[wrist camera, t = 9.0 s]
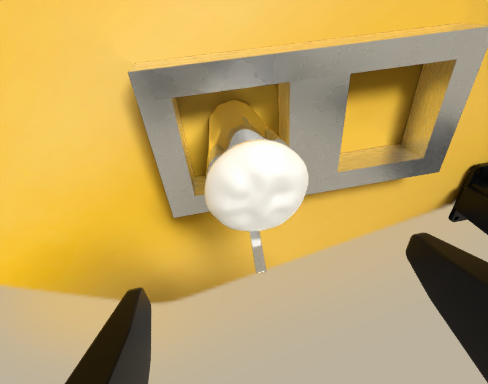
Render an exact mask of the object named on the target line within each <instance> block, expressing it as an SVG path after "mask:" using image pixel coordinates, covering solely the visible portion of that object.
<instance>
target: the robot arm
mask: <svg viewBox="0 0 488 384" xmlns="http://www.w3.org/2000/svg"><path fill="white" fill-rule="evenodd" d="M449 219H450V220H451V221H452V222H457V221H462V220H469V221H470V222H472V223H473V224H474V225H475V226H477V227H478V228H480V229H481V230H482V231H483V232H484V233H486V234H487V235H488V163H483V164H478V165H475V166H474V167H473V168H472V169H471V170H470V173H469V175H468V177H467V179H466V181H465V183H464V185H463V187H462V190H461V192H460V194H459V196H458V198H457V200H456V202H455V205H454V207H453V209H452V211H451V213H450V215H449ZM406 256H407V259H408V260H409V262H410V264H411V266H412V268H413V269H414V271H415V273H416V275H417V277H418V278H419V280H420V282H421V283H422V286H423V287H424V289H425V291H426V292H427V294H428V296H429V298H430V299H431V301H432V302H433V304H434V305H435V307H436V308H437V310H438V311H439V313H440V314H441V316H442V317H443V318H444V320H445V321H446V322H447V324H448V326H449V327H450V329H451V330H452V332H453V333H454V334H455V336H456V337H457V339H458V340H459V341H460V343H461V345H462V346H463V348H464V349H465V350H466V352H467V353H468V355H469V356H470V358H471V359H472V361H473V362H474V364H475V365H476V366H477V368H478V369H479V371H480V372H481V374H482V375H483V377H484V378H485V380H486V381H487V383H488V262H486V261H484V260H482V259H480V258H478V257H475V256H473V255H471V254H469V253H467V252H465V251H463V250H461V249H459V248H457V247H455V246H452V245H450V244H449V243H446V242H444V241H442V240H440V239H438V238H436V237H434V236H432V235H430V234H427V233H419V234H414V235H412V236H411V238H410V241H409V244H408V246H407V249H406ZM150 361H151V304H150V301H149V299H148V297H147V295H146V293H145V291H144V289H143V288H135V289H130V290H128V291H127V292H126V294H125V295H124V297H123V298H122V300H121V301H120V303H119V304H118V306H117V307H116V309H115V310H114V312H113V313H112V315H111V316H110V318H109V319H108V320H107V322H106V323H105V325H104V326H103V328H102V330H101V331H100V332H99V334H98V335H97V337H96V338H95V340H94V341H93V343H92V344H91V346H90V347H89V349H88V350H87V352H86V353H85V354H84V356H83V357H82V359H81V360H80V362H79V363H78V365H77V367H76V368H75V369H74V371H73V372H72V374H71V375H70V377H69V378H68V380H67V381H66V383H65V384H148V379H149V371H150Z"/></svg>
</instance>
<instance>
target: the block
mask: <svg viewBox="0 0 488 384" xmlns="http://www.w3.org/2000/svg"><path fill="white" fill-rule="evenodd" d="M487 48H488V25H481V24H468V23H455V24H447V25H438V26H430V27H422V28H414V29H406V30H398V31H390V32H382V33H374V34H366V35H358V36H350V37H341V38H333V39H325V40H317V41H309V42H301V43H293V44H285V45H277V46H269V47H261V48H253V49H244V50H236V51H228V52H220V53H212V54H204V55H196V56H188V57H180V58H172V59H164V60H156V61H147V62H139V63H135V64H134V66H133V67H132V68H131V69H130V70H129V71H128V74H129V78H130V81H131V84H132V87H133V90H134V93H135V97H136V100H137V103H138V106H139V109H140V112H141V116H142V119H143V122H144V125H145V128H146V131H147V135H148V138H149V141H150V144H151V147H152V150H153V154H154V157H155V160H156V163H157V166H158V169H159V173H160V176H161V179H162V182H163V185H164V188H165V192H166V195H167V198H168V201H169V204H170V207H171V211H172V214H173V217H174V218H175V217H181V216H187V215H193V214H198V213H204V212H210V211H209V209H208V207H207V205H206V201H205V180H206V175H203V176H197V177H194V174H193V170H192V165H191V161H190V157H189V152H188V148H187V144H186V139H185V135H184V131H183V126H182V122H181V118H180V113H179V109H178V105H177V100H176V97H183V96H190V95H197V94H205V93H212V92H219V91H227V90H234V89H241V88H249V87H256V86H264V85H271V84H278V114H279V137H280V138H281V139H282V140H283V141H284V142H285V143H286V144H287V145H288V146H289V147H290V148H291V149H292V150H293V151H294V152H295V153H296V154H298V155H299V156H300V158H301V159H302V160H303V162H304V163H305V165H306V168H307V171H308V186H307V190H306V193H305V195H308V194H314V193H320V192H326V191H331V190H337V189H343V188H349V187H354V186H360V185H366V184H372V183H378V182H383V181H389V180H395V179H401V178H406V177H412V176H418V175H424V174H429V173H435V172H439V170H440V168H441V165H442V163H443V160H444V158H445V155H446V153H447V150H448V147H449V145H450V142H451V140H452V137H453V135H454V132H455V129H456V127H457V124H458V122H459V119H460V117H461V114H462V112H463V109H464V106H465V104H466V101H467V99H468V96H469V94H470V91H471V89H472V86H473V83H474V81H475V78H476V76H477V73H478V71H479V68H480V66H481V63H482V60H483V58H484V55H485V53H486V50H487ZM418 64H423V67H422V71H421V74H420V78H419V82H418V85H417V89H416V92H415V96H414V100H413V103H412V107H411V111H410V114H409V118H408V121H407V125H406V129H405V132H404V136H403V139H402V143H401V144H395V145H389V146H382V147H376V148H370V149H364V150H358V151H351V152H345V153H340V149H341V142H342V134H343V127H344V119H345V112H346V104H347V97H348V90H349V82H350V75H351V74H352V73H359V72H367V71H374V70H381V69H389V68H396V67H403V66H411V65H418Z"/></svg>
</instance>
